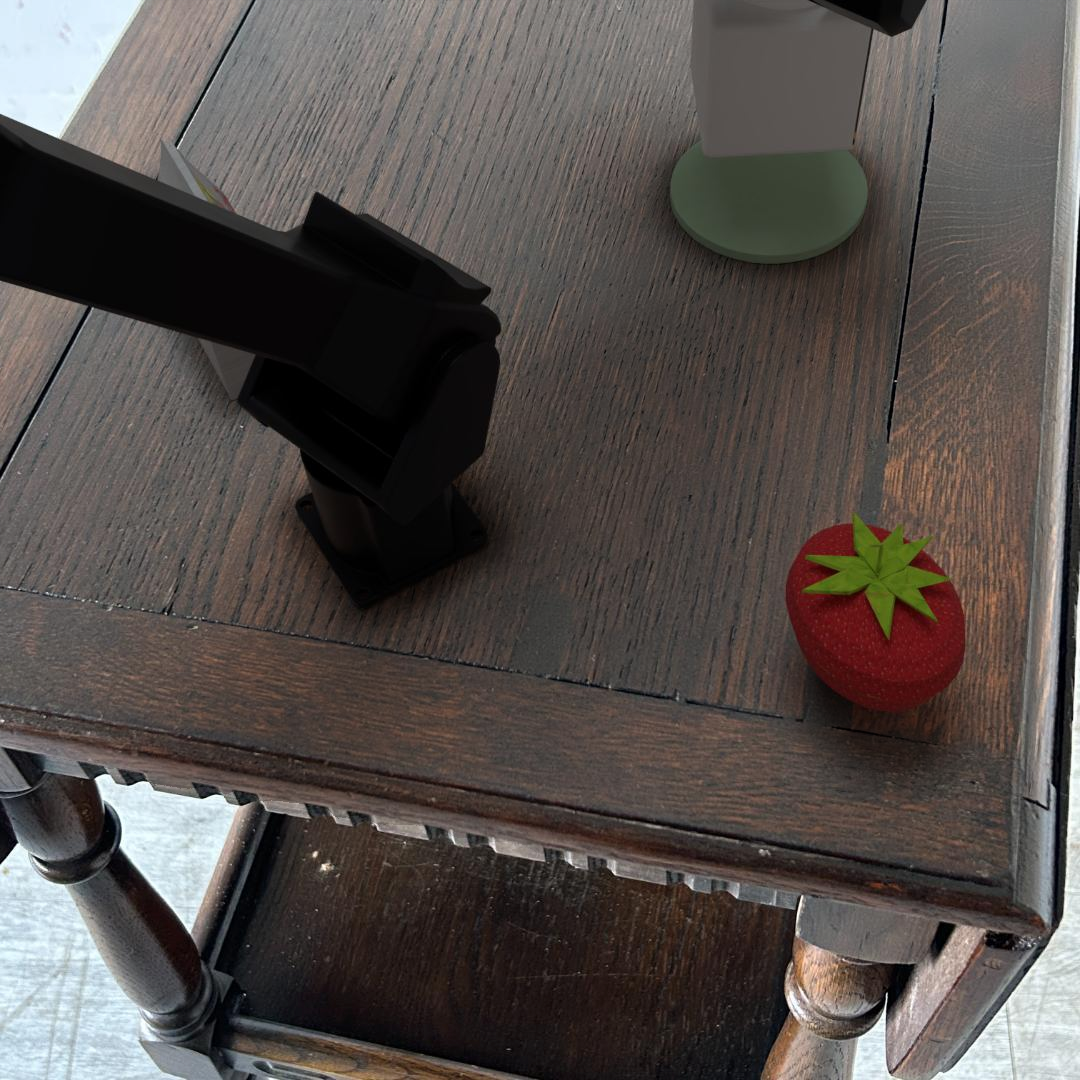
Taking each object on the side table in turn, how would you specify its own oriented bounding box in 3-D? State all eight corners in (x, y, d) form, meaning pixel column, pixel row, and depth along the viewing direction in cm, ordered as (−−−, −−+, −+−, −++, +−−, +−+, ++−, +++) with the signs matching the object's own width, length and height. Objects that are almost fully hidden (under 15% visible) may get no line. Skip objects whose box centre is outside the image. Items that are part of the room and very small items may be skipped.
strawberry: (846, 795, 53) (884, 663, 45) (741, 643, 57) (758, 498, 49) (975, 728, 54) (1035, 588, 46) (863, 584, 58) (900, 433, 50)
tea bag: (231, 400, 66) (174, 242, 58) (183, 311, 70) (122, 151, 61) (303, 370, 67) (257, 210, 59) (252, 283, 70) (201, 121, 62)
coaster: (907, 212, 71) (909, 203, 70) (745, 292, 68) (745, 283, 68) (787, 107, 76) (788, 98, 75) (632, 178, 73) (632, 169, 73)
